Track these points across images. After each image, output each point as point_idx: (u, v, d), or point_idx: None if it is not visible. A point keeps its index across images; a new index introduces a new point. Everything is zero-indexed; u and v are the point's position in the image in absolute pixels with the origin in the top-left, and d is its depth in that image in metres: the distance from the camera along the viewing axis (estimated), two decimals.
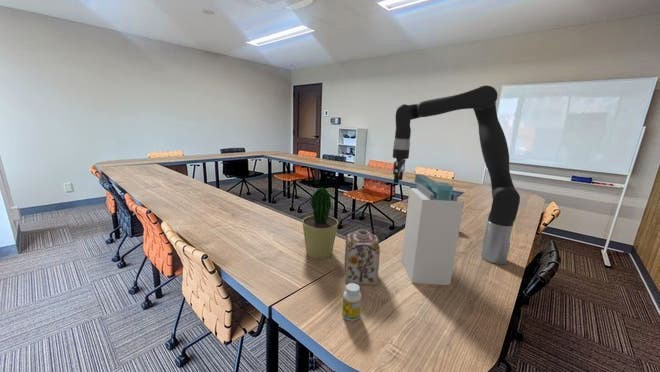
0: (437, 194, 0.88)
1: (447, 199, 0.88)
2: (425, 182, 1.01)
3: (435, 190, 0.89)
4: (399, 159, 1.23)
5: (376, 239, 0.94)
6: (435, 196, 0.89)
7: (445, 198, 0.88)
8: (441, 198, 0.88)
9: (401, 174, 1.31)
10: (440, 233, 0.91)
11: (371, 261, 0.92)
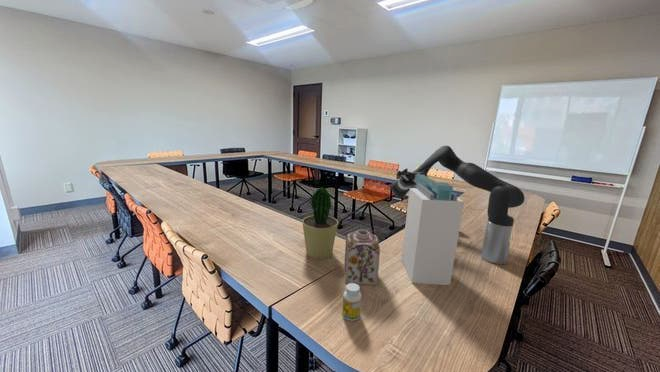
0: (437, 194, 0.88)
1: (447, 199, 0.88)
2: (425, 182, 1.01)
3: (435, 190, 0.89)
4: None
5: (376, 239, 0.94)
6: (435, 196, 0.89)
7: (445, 198, 0.88)
8: (441, 198, 0.88)
9: (422, 172, 1.27)
10: (440, 233, 0.91)
11: (371, 261, 0.92)
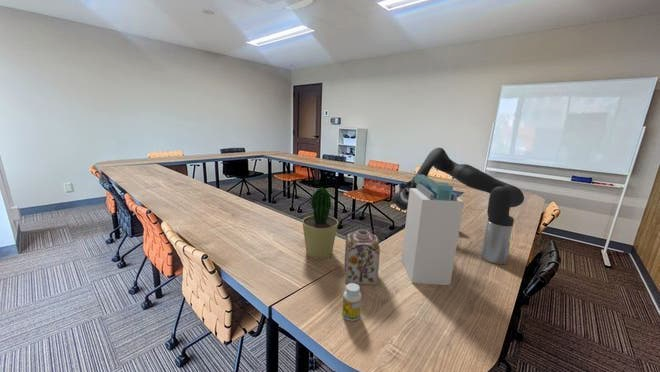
0: (437, 194, 0.88)
1: (447, 199, 0.88)
2: (425, 182, 1.01)
3: (435, 190, 0.89)
4: (404, 189, 1.24)
5: (376, 239, 0.94)
6: (435, 196, 0.89)
7: (445, 198, 0.88)
8: (441, 198, 0.88)
9: None
10: (440, 233, 0.91)
11: (371, 261, 0.92)
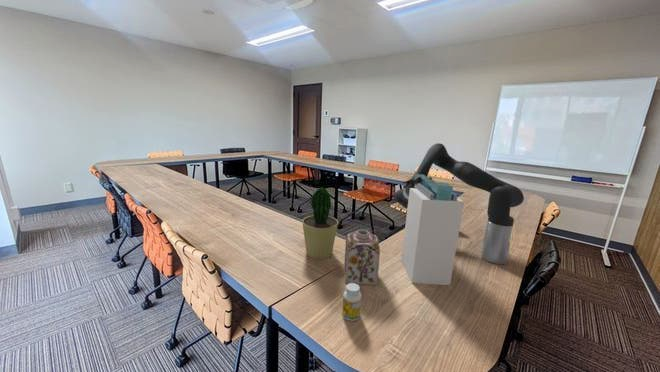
0: (437, 194, 0.88)
1: (447, 199, 0.88)
2: (425, 182, 1.01)
3: (435, 190, 0.89)
4: None
5: (376, 239, 0.94)
6: (435, 196, 0.89)
7: (445, 198, 0.88)
8: (441, 198, 0.88)
9: None
10: (440, 233, 0.91)
11: (371, 261, 0.92)
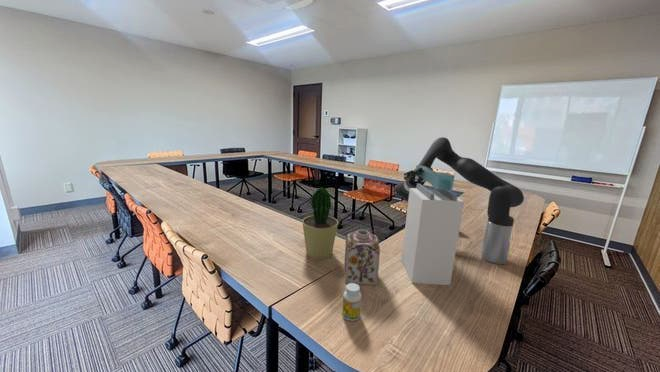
0: (438, 183, 0.87)
1: (448, 188, 0.87)
2: (426, 172, 1.01)
3: (436, 180, 0.88)
4: None
5: (376, 239, 0.94)
6: (436, 185, 0.88)
7: (446, 188, 0.87)
8: (442, 187, 0.87)
9: None
10: (440, 233, 0.91)
11: (371, 261, 0.92)
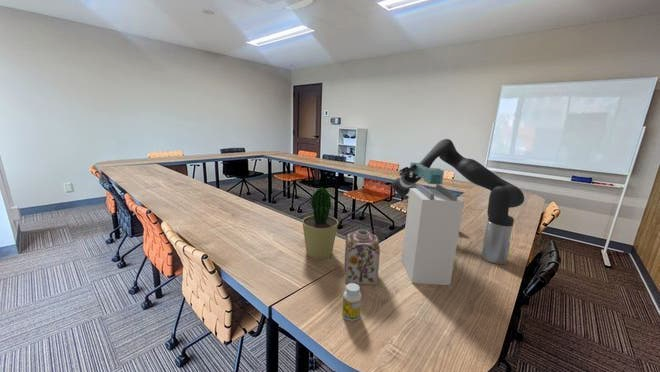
0: (429, 178, 0.96)
1: (439, 183, 0.96)
2: (419, 169, 1.09)
3: (428, 175, 0.97)
4: (404, 174, 1.26)
5: (376, 239, 0.94)
6: (428, 180, 0.97)
7: (437, 182, 0.96)
8: (433, 182, 0.96)
9: None
10: (440, 233, 0.91)
11: (371, 261, 0.92)
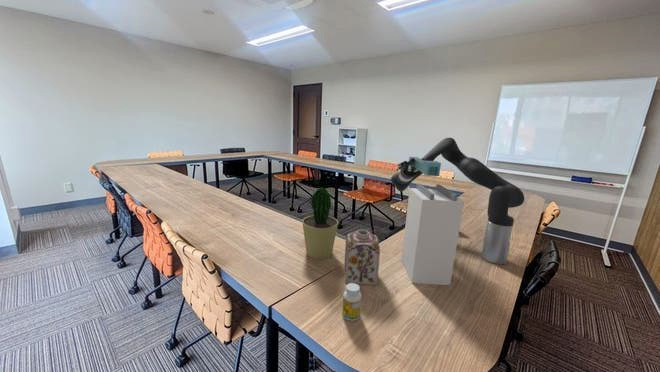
0: (427, 170, 0.99)
1: (436, 174, 0.99)
2: (417, 162, 1.12)
3: (425, 167, 1.00)
4: (402, 168, 1.29)
5: (376, 239, 0.94)
6: (425, 172, 1.00)
7: (434, 174, 0.99)
8: (430, 174, 0.99)
9: None
10: (440, 233, 0.91)
11: (371, 261, 0.92)
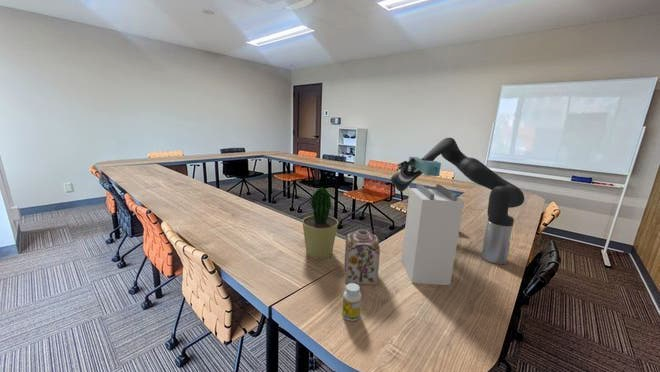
0: (427, 170, 0.99)
1: (436, 174, 0.99)
2: (417, 162, 1.12)
3: (425, 167, 1.00)
4: (402, 168, 1.29)
5: (376, 239, 0.94)
6: (425, 172, 1.00)
7: (434, 174, 0.99)
8: (430, 174, 0.99)
9: None
10: (440, 233, 0.91)
11: (371, 261, 0.92)
